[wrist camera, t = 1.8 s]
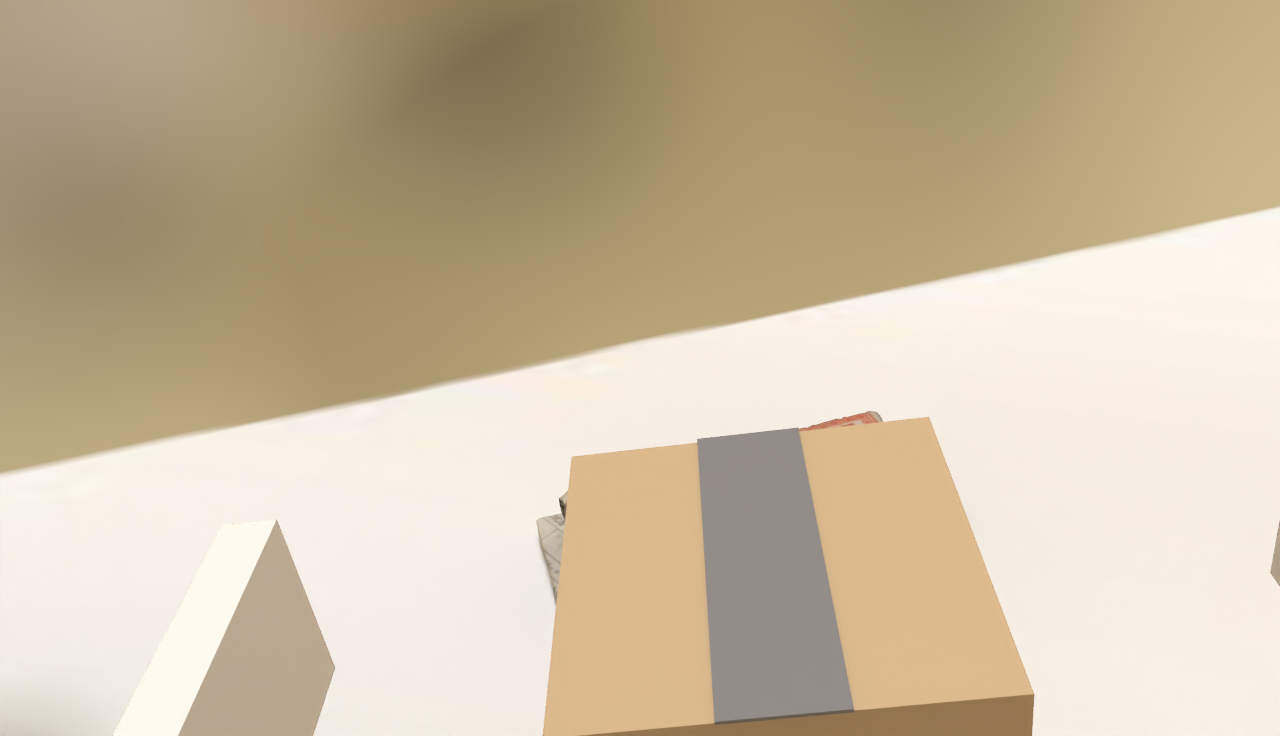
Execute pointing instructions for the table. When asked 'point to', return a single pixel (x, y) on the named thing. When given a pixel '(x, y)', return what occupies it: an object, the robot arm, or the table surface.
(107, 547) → the table surface
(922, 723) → the brown cardboard block
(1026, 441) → the table surface
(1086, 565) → the table surface
